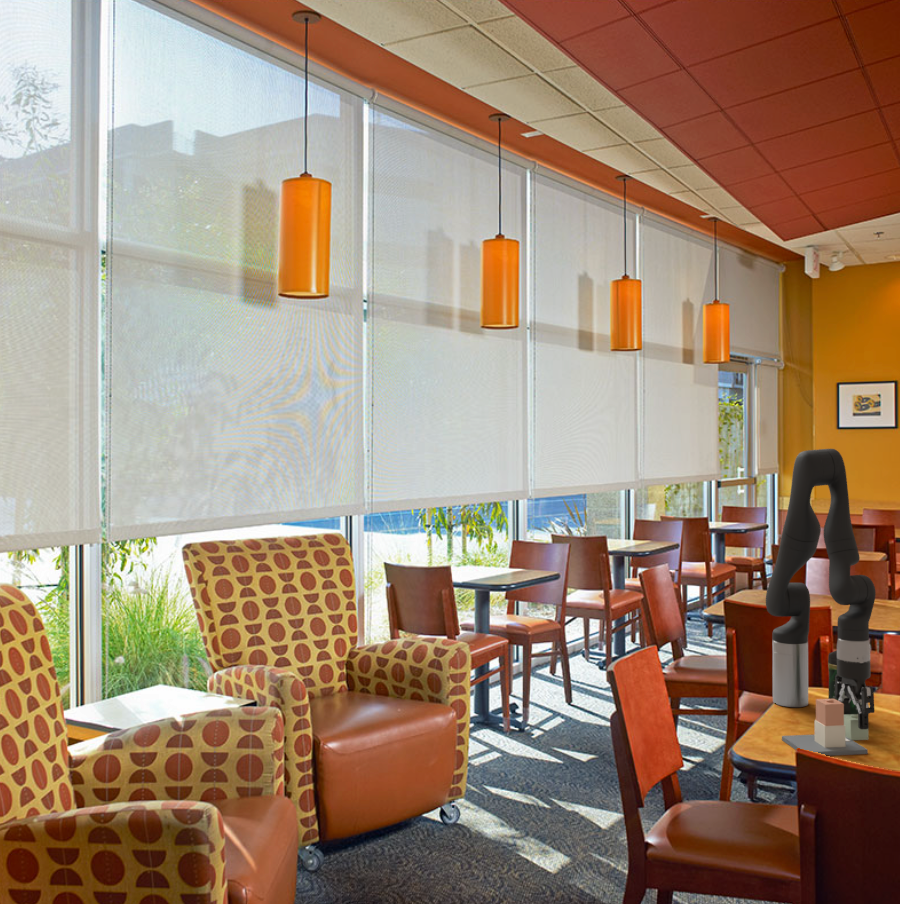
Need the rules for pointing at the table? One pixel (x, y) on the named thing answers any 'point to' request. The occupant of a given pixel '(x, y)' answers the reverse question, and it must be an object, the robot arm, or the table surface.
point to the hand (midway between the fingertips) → (854, 723)
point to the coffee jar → (832, 673)
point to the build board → (818, 748)
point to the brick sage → (854, 728)
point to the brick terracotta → (829, 712)
